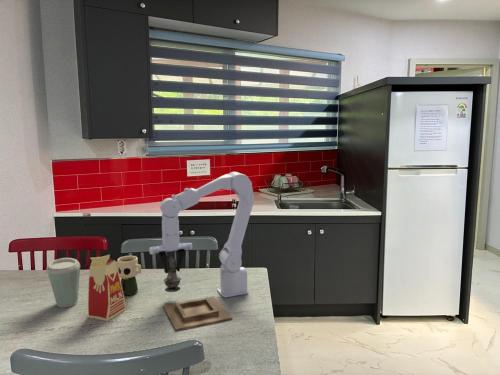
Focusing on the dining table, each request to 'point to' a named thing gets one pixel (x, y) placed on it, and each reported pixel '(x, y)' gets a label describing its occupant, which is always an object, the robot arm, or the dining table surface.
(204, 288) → the dining table surface
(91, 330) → the dining table surface
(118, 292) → the milk carton
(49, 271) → the disposable coffee cup
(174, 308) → the walnut holder
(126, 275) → the character mug
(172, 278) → the salt shaker
